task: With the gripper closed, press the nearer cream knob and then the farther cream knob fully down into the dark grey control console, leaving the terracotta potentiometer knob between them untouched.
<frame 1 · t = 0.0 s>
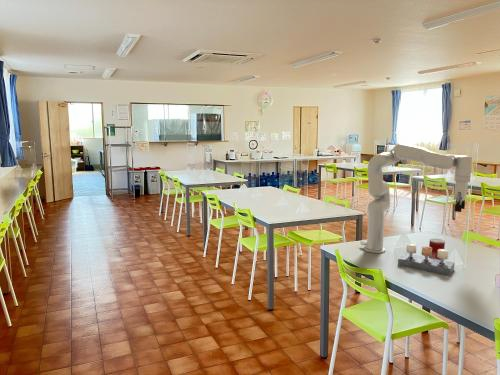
hand: (459, 210, 223), 31 cm above the table, fingers open, 9 cm apart
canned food: (435, 259, 239), on the table
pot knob: (426, 254, 223), point 8 cm above the table, slide at 0.0 cm
console: (425, 267, 224), on the table
knob 1: (411, 251, 227), point 7 cm above the table, slide at 0.0 cm
knob 2: (442, 257, 218), point 7 cm above the table, slide at 0.0 cm
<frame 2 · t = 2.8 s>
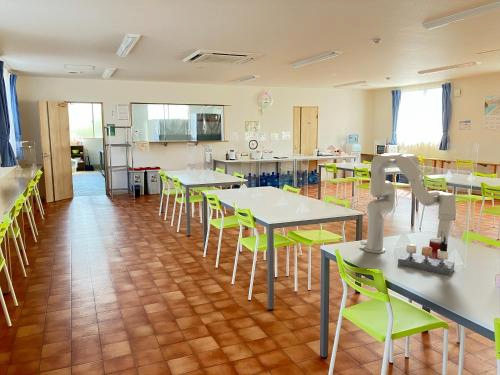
hand: (443, 250, 217), 11 cm above the table, fingers closed
knob 2: (442, 257, 218), point 7 cm above the table, slide at 0.1 cm, touching gripper
everything else where it was.
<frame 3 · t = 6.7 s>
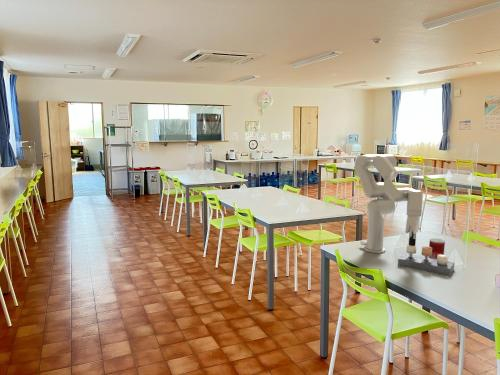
hand: (411, 245, 227), 11 cm above the table, fingers closed
knob 1: (411, 251, 227), point 7 cm above the table, slide at 0.2 cm, touching gripper
knob 2: (442, 262, 218), point 4 cm above the table, slide at 3.0 cm
everything else where it was.
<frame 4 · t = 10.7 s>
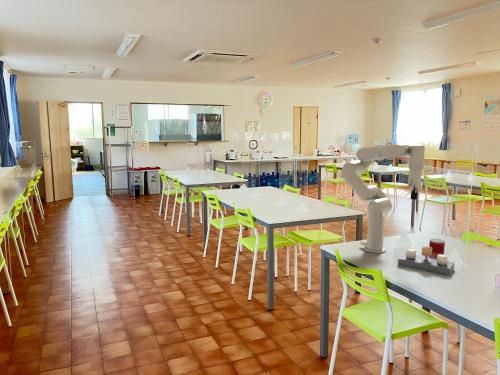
hand: (413, 199, 232), 35 cm above the table, fingers closed
knob 1: (410, 256, 228), point 4 cm above the table, slide at 3.0 cm
everything else where it was.
at the end: knob 2 slide at 3.0 cm; knob 1 slide at 3.0 cm; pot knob slide at 0.0 cm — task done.
